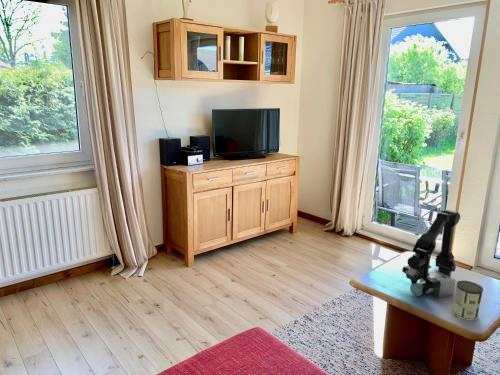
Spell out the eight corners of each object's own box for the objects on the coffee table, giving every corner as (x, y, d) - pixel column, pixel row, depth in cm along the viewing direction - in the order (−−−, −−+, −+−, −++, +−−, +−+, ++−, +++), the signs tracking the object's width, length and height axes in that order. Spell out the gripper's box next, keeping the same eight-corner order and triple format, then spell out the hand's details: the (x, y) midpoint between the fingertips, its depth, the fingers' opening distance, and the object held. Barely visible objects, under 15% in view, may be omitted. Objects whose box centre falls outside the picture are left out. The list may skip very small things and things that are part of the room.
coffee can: (464, 306, 173) (469, 279, 170) (483, 318, 164) (488, 290, 160) (446, 309, 170) (451, 281, 167) (464, 322, 161) (470, 293, 157)
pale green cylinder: (428, 288, 189) (429, 277, 187) (437, 293, 183) (439, 282, 182) (409, 292, 184) (410, 281, 182) (418, 298, 178) (420, 287, 177)
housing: (433, 283, 194) (435, 269, 192) (453, 294, 183) (455, 280, 181) (418, 286, 190) (420, 272, 188) (437, 298, 179) (440, 283, 177)
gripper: (395, 257, 183) (392, 285, 187) (426, 274, 167) (421, 304, 170) (412, 254, 187) (408, 282, 191) (444, 270, 171) (438, 300, 175)
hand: (418, 291), depth 182 cm, fingers closed on pale green cylinder, 6 cm apart
